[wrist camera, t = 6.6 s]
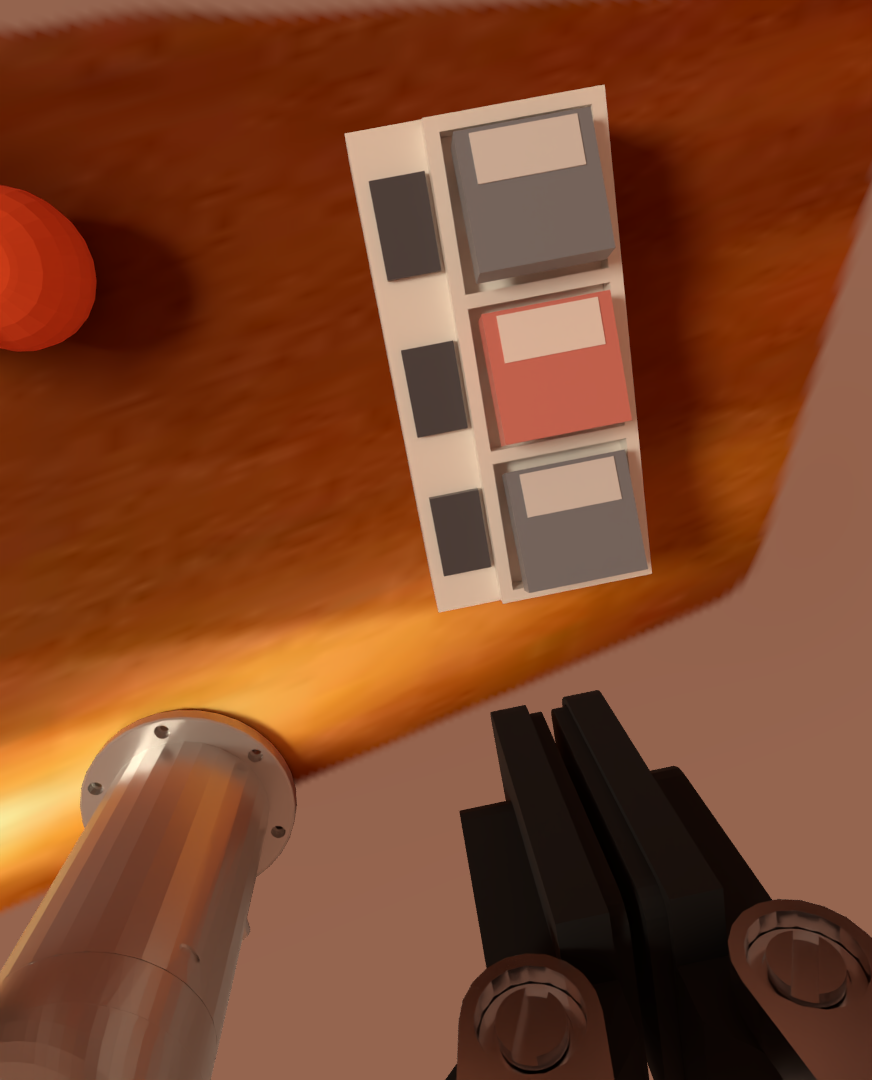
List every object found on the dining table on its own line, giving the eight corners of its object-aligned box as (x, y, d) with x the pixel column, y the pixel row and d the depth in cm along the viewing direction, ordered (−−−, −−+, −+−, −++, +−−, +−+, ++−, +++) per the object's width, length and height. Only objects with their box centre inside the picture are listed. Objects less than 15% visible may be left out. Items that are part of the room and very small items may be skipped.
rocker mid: (622, 422, 32) (632, 420, 30) (501, 446, 32) (506, 445, 30) (601, 298, 31) (610, 289, 30) (478, 321, 31) (481, 313, 30)
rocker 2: (638, 567, 34) (648, 569, 32) (524, 590, 33) (529, 593, 32) (616, 452, 33) (625, 449, 32) (501, 475, 33) (505, 472, 32)
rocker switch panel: (616, 542, 41) (656, 576, 35) (431, 579, 40) (440, 620, 35) (570, 120, 34) (608, 78, 29) (349, 161, 34) (343, 126, 28)
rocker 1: (605, 259, 30) (616, 246, 28) (476, 284, 29) (479, 272, 28) (582, 125, 29) (590, 105, 28) (450, 149, 29) (452, 130, 28)
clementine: (96, 390, 36) (30, 403, 29) (-46, 341, 35) (-148, 343, 28) (134, 233, 34) (73, 208, 27) (-15, 175, 33) (-116, 135, 26)
